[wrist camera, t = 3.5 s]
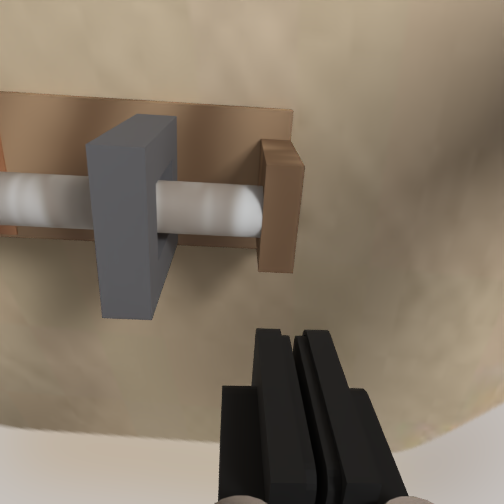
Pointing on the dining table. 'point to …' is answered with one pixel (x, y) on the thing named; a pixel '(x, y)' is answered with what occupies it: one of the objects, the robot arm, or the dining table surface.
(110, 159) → the grey flat block
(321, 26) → the dining table surface
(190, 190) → the pipe stand
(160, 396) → the dining table surface
